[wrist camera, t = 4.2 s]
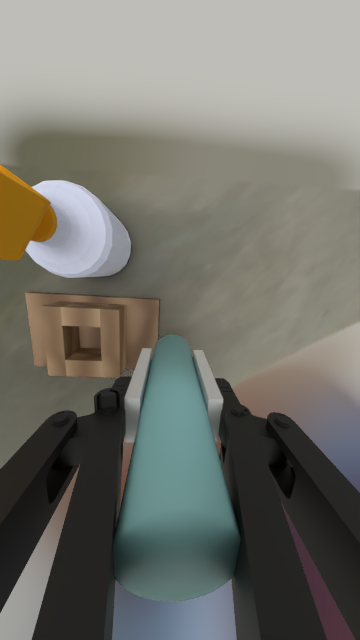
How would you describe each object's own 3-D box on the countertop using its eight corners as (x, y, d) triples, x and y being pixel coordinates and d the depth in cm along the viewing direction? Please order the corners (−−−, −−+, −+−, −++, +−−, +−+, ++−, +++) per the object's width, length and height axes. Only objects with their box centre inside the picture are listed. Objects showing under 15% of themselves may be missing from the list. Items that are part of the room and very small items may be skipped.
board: (39, 362, 33) (12, 380, 27) (30, 291, 30) (-2, 296, 24) (157, 366, 34) (154, 384, 28) (159, 298, 31) (156, 304, 25)
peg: (153, 368, 19) (111, 604, 5) (153, 333, 18) (107, 511, 5) (189, 369, 19) (235, 597, 6) (191, 335, 18) (252, 508, 5)
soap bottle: (89, 198, 27) (-505, -351, 3) (143, 239, 29) (7, 73, 5) (58, 251, 29) (-507, 142, 5) (111, 288, 30) (-113, 343, 6)
